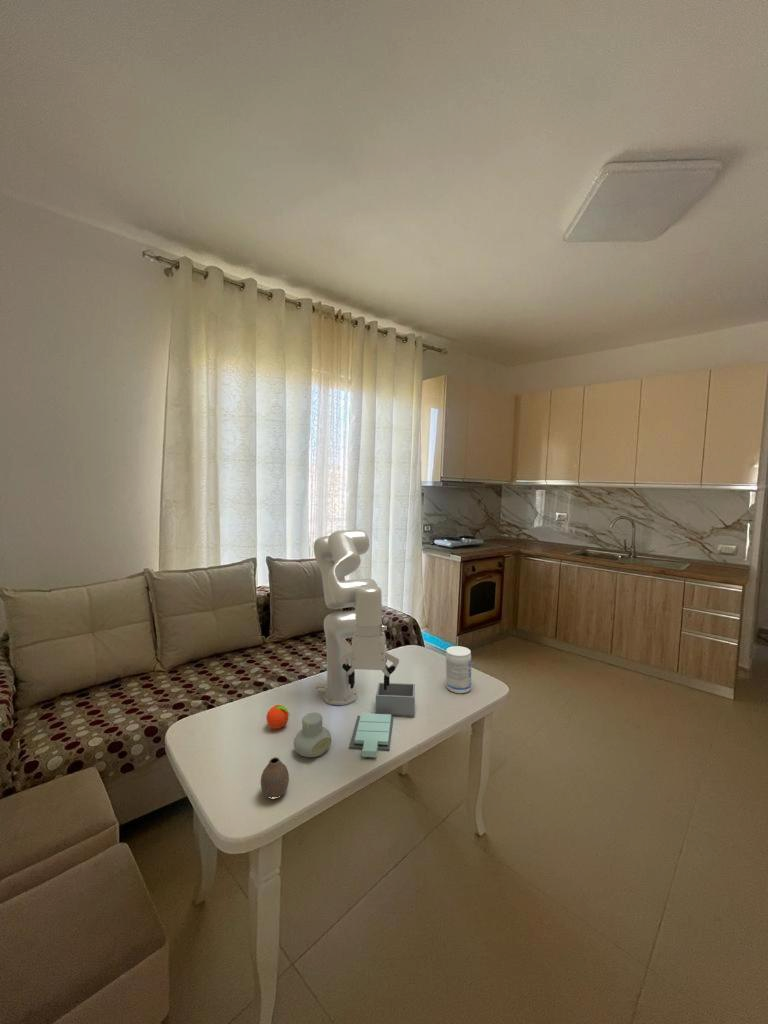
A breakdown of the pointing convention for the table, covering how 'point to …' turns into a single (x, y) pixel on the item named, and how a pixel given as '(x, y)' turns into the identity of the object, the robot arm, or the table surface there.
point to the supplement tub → (458, 669)
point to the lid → (373, 732)
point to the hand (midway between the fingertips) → (369, 687)
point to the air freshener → (312, 736)
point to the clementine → (277, 716)
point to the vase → (274, 778)
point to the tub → (396, 699)
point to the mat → (360, 746)
